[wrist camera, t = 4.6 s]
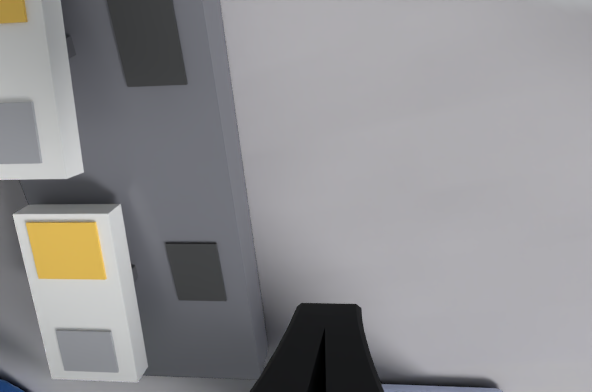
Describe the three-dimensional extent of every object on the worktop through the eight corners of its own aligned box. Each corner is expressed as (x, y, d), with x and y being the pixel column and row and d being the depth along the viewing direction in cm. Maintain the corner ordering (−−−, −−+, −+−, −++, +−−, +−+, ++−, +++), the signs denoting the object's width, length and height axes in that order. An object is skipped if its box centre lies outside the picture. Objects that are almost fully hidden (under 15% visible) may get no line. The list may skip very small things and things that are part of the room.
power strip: (268, 346, 26) (258, 394, 23) (109, 341, 27) (83, 387, 24) (192, -195, 15) (160, -208, 13) (-63, -166, 16) (-137, -174, 14)
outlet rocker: (83, 172, 17) (65, 179, 16) (-20, 174, 18) (-45, 181, 17) (51, -68, 15) (27, -78, 14) (-63, -59, 16) (-93, -68, 15)
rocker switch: (147, 366, 22) (136, 384, 21) (65, 363, 22) (50, 380, 21) (120, 203, 20) (107, 214, 19) (29, 204, 20) (10, 215, 19)
